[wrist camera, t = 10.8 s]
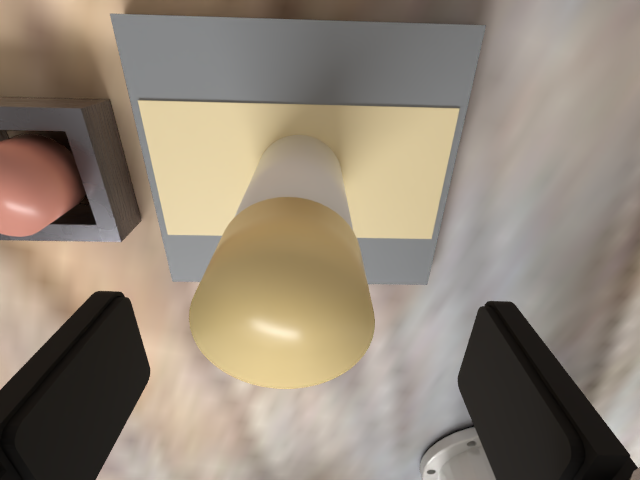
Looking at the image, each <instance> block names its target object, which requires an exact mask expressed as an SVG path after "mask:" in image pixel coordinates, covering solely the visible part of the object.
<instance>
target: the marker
mask: <svg viewBox="0 0 640 480" xmlns="http://www.w3.org/2000/svg"><path fill="white" fill-rule="evenodd" d="M189 322H190V329H191V332H192V335H193V338H194V340H195V342H196V344H197V346H198V347H199V349H200V350H201V352H202V353H203V354H204V355H205V356H206V358H207V359H208V360H209V361H210V362H212V363H213V364H214V365H215V366H216V367H218V368H219V369H221V370H222V371H223V372H225V373H227V374H229V375H231V376H232V377H234V378H237V379H239V380H241V381H244V382H247V383H250V384H253V385H258V386H262V387H269V388H279V389H294V388H303V387H309V386H314V385H318V384H321V383H324V382H327V381H329V380H332V379H334V378H336V377H338V376H340V375H342V374H343V373H345V372H346V371H348V370H349V369H350V368H352V367H353V366H354V365H355V364H356V363H357V362H358V361H359V360H360V359H361V358H362V357H363V355H364V354H365V352H366V351H367V349H368V348H369V346H370V343H371V341H372V338H373V334H374V327H375V319H374V311H373V307H372V302H371V297H370V293H369V288H368V283H367V279H366V274H365V269H364V265H363V260H362V255H361V251H360V246H359V243H358V240H357V238H356V236H355V233H354V232H353V227H352V222H351V217H350V212H349V207H348V202H347V197H346V192H345V187H344V182H343V177H342V172H341V167H340V163H339V161H338V159H337V157H336V155H335V153H334V152H333V151H332V150H331V148H330V147H328V146H327V145H326V144H325V143H323V142H322V141H320V140H318V139H317V138H314V137H311V136H307V135H290V136H286V137H283V138H281V139H279V140H277V141H275V142H274V143H272V144H271V145H270V146H269V147H268V148H267V149H266V151H265V152H264V153H263V155H262V157H261V159H260V161H259V164H258V166H257V168H256V170H255V172H254V175H253V177H252V179H251V181H250V184H249V186H248V188H247V190H246V192H245V195H244V197H243V199H242V201H241V203H240V206H239V208H238V210H237V212H236V215H235V217H234V218H233V220H232V221H231V222H230V223H229V224H228V226H227V227H226V229H225V231H224V233H223V235H222V237H221V239H220V241H219V243H218V246H217V248H216V250H215V252H214V254H213V256H212V258H211V260H210V263H209V265H208V267H207V269H206V271H205V273H204V275H203V277H202V279H201V282H200V284H199V286H198V288H197V290H196V292H195V295H194V297H193V299H192V302H191V306H190V311H189Z"/></svg>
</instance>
